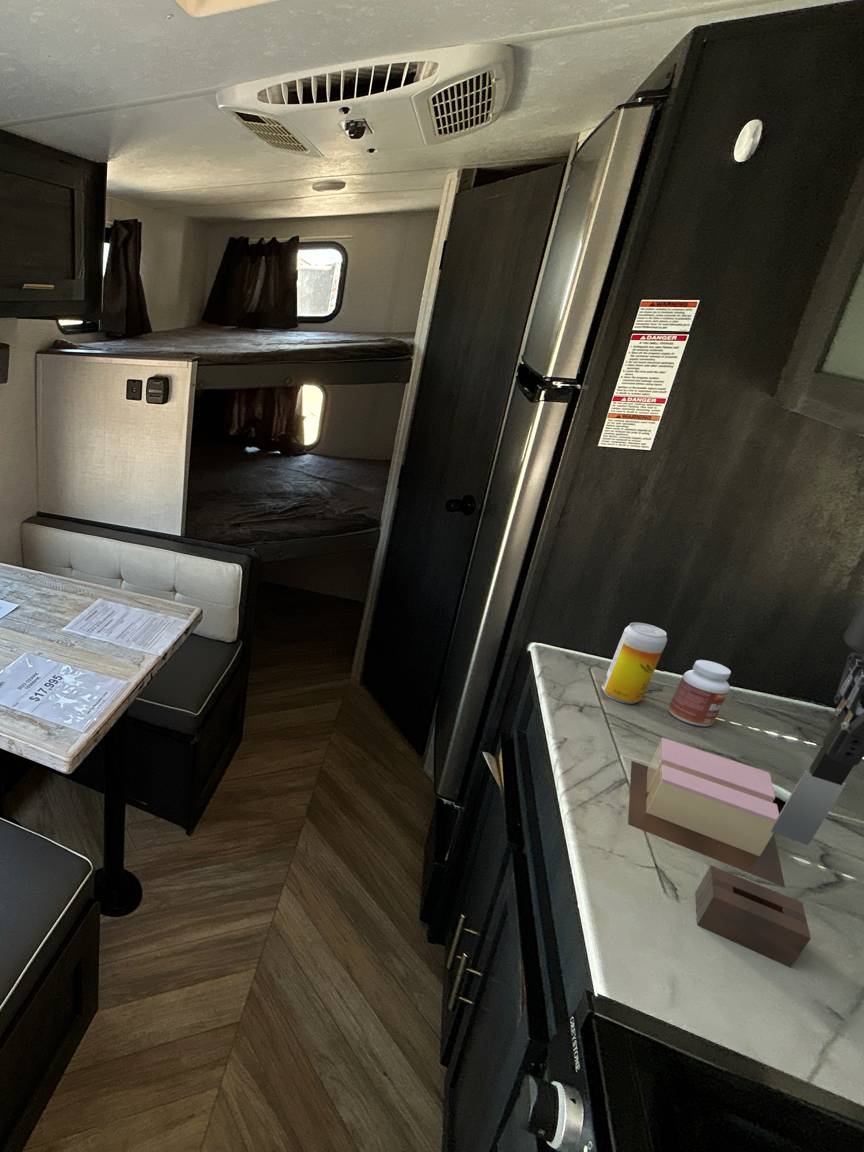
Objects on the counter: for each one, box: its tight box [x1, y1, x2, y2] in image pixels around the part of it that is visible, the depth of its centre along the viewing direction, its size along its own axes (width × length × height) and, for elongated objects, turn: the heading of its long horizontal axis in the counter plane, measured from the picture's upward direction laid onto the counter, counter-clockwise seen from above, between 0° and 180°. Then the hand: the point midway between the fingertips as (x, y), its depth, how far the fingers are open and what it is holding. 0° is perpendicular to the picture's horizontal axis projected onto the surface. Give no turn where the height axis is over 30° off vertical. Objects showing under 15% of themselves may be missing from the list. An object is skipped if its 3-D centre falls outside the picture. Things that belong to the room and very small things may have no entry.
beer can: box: [601, 622, 668, 705], centre depth 120 cm, size 6×6×15 cm
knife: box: [770, 710, 854, 846], centre depth 69 cm, size 3×2×17 cm, turn 49°
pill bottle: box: [668, 659, 732, 727], centre depth 115 cm, size 6×6×11 cm
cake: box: [647, 737, 776, 803], centre depth 95 cm, size 12×7×7 cm, turn 49°
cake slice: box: [646, 765, 780, 856], centre depth 91 cm, size 12×4×7 cm, turn 49°
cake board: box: [627, 760, 786, 888], centre depth 94 cm, size 16×18×1 cm
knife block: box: [694, 865, 812, 969], centre depth 76 cm, size 8×6×6 cm
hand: (838, 754), depth 68 cm, fingers closed on knife, 1 cm apart
